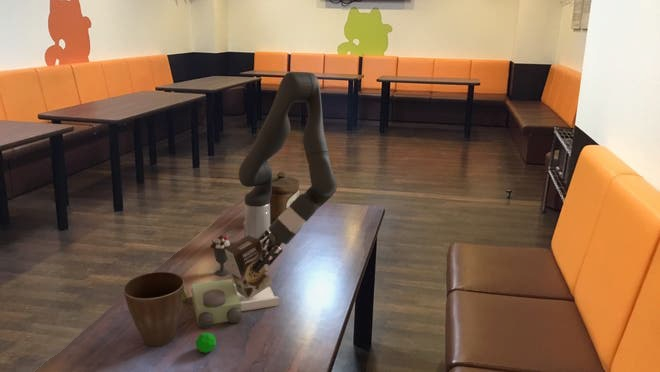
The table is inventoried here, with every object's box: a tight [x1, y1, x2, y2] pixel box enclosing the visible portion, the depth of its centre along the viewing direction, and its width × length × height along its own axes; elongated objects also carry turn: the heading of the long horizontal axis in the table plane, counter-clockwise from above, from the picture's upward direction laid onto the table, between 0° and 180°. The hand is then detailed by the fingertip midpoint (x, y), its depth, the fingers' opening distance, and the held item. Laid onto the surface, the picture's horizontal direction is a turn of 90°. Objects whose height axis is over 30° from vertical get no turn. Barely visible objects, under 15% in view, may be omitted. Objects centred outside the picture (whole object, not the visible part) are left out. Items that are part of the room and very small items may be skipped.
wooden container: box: [270, 171, 300, 225], centre depth 226 cm, size 15×15×22 cm
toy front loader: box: [191, 278, 280, 329], centre depth 160 cm, size 19×24×7 cm
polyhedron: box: [195, 331, 217, 354], centre depth 138 cm, size 5×5×5 cm
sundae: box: [210, 229, 232, 277], centre depth 180 cm, size 7×7×15 cm
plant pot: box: [122, 271, 185, 347], centre depth 141 cm, size 15×15×16 cm
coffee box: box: [225, 235, 273, 299], centre depth 161 cm, size 9×6×16 cm
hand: (251, 265), depth 162 cm, fingers closed on coffee box, 8 cm apart
